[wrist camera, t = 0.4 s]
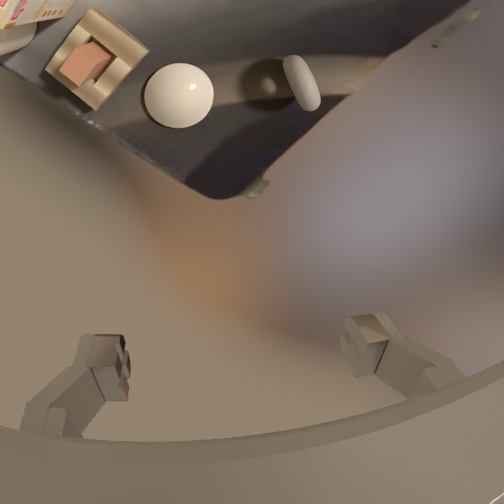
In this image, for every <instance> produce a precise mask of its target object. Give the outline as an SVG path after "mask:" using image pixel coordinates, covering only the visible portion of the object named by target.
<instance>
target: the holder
mask: <svg viewBox="0 0 504 504" xmlns="http://www.w3.org/2000/svg"><path fill="white" fill-rule="evenodd" d="M94 41H98V42H100V43H101V44H102V45H103V46H105V47H106V48H107V49H108V50H109V51H111V52H112V53H113V54H114V55H115V56H114V57H113V58H112V59H111V60H110V61H109V63H108V64H107V65H106V66H105V67H104V68H103V70H102V71H101V72H100V73H99V74H98V75H97V76H95V77H94V78H92V79H90V80H89V81H87V82H86V83H84V84H82V85H81V86H78V85H76V84H75V83H74V82H73V81H71V80H70V79H69V78H68V77H66V76H65V75H64V74H63V73H62V72H60V71H59V70H60V69H61V67H62V66H63V64H64V63H65V62H66V60H67V59H68V57H69V56H70V55H71V53H72V52H73V51H74V49H75V48H76V47H78V46H81V45H84V44H87V43H91V42H94ZM149 52H150V50H149V49H148V48H146V47H145V46H144V45H143V44H142V43H141V42H139V41H138V40H137V39H136V38H135V37H133V36H132V35H131V34H130V33H129V32H127V31H126V30H125V29H124V28H123V27H121V26H120V25H119V24H118V23H116V22H115V21H114V20H113V19H111V18H110V17H109V16H108V15H106V14H105V13H104V12H103V11H101V10H100V9H90V10H89V11H88V12H87V13H86V15H85V16H84V17H83V18H82V19H81V21H80V22H79V23H78V24H77V26H76V27H75V28H74V29H73V31H72V32H71V33H70V35H69V36H68V37H67V39H66V40H65V41H64V43H63V44H62V45H61V47H60V48H59V49H58V51H57V52H56V54H55V55H54V57H53V58H52V59H51V61H50V62H49V64H48V65H47V67H46V68H45V70H46V71H47V72H49V73H50V74H51V75H52V76H54V77H55V78H56V79H57V80H59V81H60V82H61V83H62V84H63V85H65V86H66V87H67V88H68V89H70V90H71V91H72V92H73V93H75V94H76V95H77V96H78V97H80V98H81V99H82V100H83V101H84V102H86V103H87V104H88V105H89V106H91V107H92V108H93V109H94V110H97V109H98V108H99V107H100V106H101V105H103V103H104V102H105V101H106V100H107V99H108V97H109V96H110V95H111V94H112V93H113V91H114V90H115V89H116V88H117V87H118V86H119V84H120V83H121V82H122V81H123V80H124V79H125V78H126V76H127V75H128V74H129V73H130V72H131V71H132V70H133V69H134V68H135V67H136V65H137V64H138V63H139V62H140V61H141V60H142V59H143V58H144V57H145V56H146V55H147V54H148V53H149Z"/></svg>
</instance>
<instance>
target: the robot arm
mask: <svg viewBox="0 0 504 504" xmlns="http://www.w3.org/2000/svg"><path fill="white" fill-rule="evenodd" d="M344 326H345V327H346V329H347V330H346V331H345V332H344V333H343V334H342V337H341V340H340V344H341V351H342V353H343V355H344V357H345V358H347V359H348V360H350V364H349V366H350V368H351V370H352V372H353V374H354V376H355V377H361V376H366V375H372V374H375V376H377V377H378V378H379V379H381V380H382V381H384V382H385V383H386V384H388V385H389V386H390V387H392V388H393V389H395V390H396V391H397V392H399V393H400V394H401V395H403V396H404V397H406V398H407V399H408V400H406V401H404V402H400V403H397V404H394V405H391V406H387V407H384V408H381V409H377V410H374V411H370V412H367V413H363V414H359V415H355V416H352V417H347V418H343V419H339V420H335V421H331V422H326V423H322V424H317V425H312V426H307V427H302V428H296V429H291V430H285V431H279V432H272V433H265V434H258V435H251V436H242V437H233V438H222V439H210V440H194V441H170V442H169V441H168V442H133V441H108V440H93V439H84V438H83V436H82V435H81V434H82V432H83V431H84V430H85V428H86V427H87V426H88V424H89V423H90V422H91V421H92V419H93V418H94V417H95V415H96V414H97V413H98V411H99V410H100V409H101V408H102V406H103V405H104V404H105V401H128V392H129V385H128V382H127V380H128V379H129V378H130V373H131V365H130V357H129V353H128V351H126V350H125V339H124V336H123V335H115V334H113V335H112V334H83V335H82V336H81V338H80V341H79V344H78V347H77V351H76V354H75V357H74V361H73V364H72V367H69V366H68V367H67V368H66V369H65V370H64V371H63V372H61V373H60V374H59V375H58V376H57V377H56V378H54V379H53V380H52V381H51V382H50V383H49V384H48V385H46V387H44V388H43V389H42V390H41V391H40V392H39V393H37V394H36V395H35V396H34V397H33V398H32V399H31V400H30V401H28V402H27V404H26V407H25V411H24V414H23V417H22V421H21V424H20V428H19V430H18V429H13V428H8V427H3V426H0V504H504V361H502V362H500V363H498V364H496V365H494V366H492V367H489V368H487V369H485V370H483V371H481V372H479V373H476V374H474V375H472V376H470V377H467V378H466V377H465V376H464V375H463V373H462V372H461V371H460V369H459V368H458V367H457V365H456V364H455V363H454V362H453V360H452V359H450V358H448V357H446V356H444V355H442V354H440V353H438V352H436V351H434V350H432V349H430V348H428V347H426V346H424V345H422V344H420V343H418V342H416V341H414V340H412V339H410V338H408V337H402V335H401V334H400V333H399V331H398V330H397V329H396V327H395V326H394V325H393V324H392V322H391V321H390V320H389V318H388V317H387V316H386V314H385V313H383V312H377V313H371V314H367V315H360V316H353V317H348V318H347V319H346V322H345V325H344Z"/></svg>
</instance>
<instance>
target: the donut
mask: <svg viewBox="0 0 504 504" xmlns="http://www.w3.org/2000/svg"><path fill="white" fill-rule="evenodd" d="M283 69H284V72H285V75H286V77H287V80H288V82H289V84H290V87H291V89H292V91H293V93H294V95H295V97H296V99H297V101H298V103H299V104H300V106H301V107H302V108H303V109H304V110H307V111H313V110H315V109H317V108H318V107H319V105H320V94H319V91H318V88H317V85H316V82H315V80H314V78H313V75H312V73H311V71H310V70H309V68H308V66H307V64H306V63H305V61H304V60H303V59H302V58H301V57H299V56H297V55H290V56H287V57H286V58H285V59H284V61H283Z"/></svg>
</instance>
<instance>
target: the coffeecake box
mask: <svg viewBox="0 0 504 504" xmlns="http://www.w3.org/2000/svg"><path fill="white" fill-rule="evenodd" d="M74 1H75V0H0V29H1V30H2V29H7V28H11V27H15V26H19V25H24V24H28V23H33V22H38V21H44V20H50V19H56V18H62V17H64V16H65V15H66V13H67V12H68V10H69V9H70V7H71V6H72V4H73V3H74Z"/></svg>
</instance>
